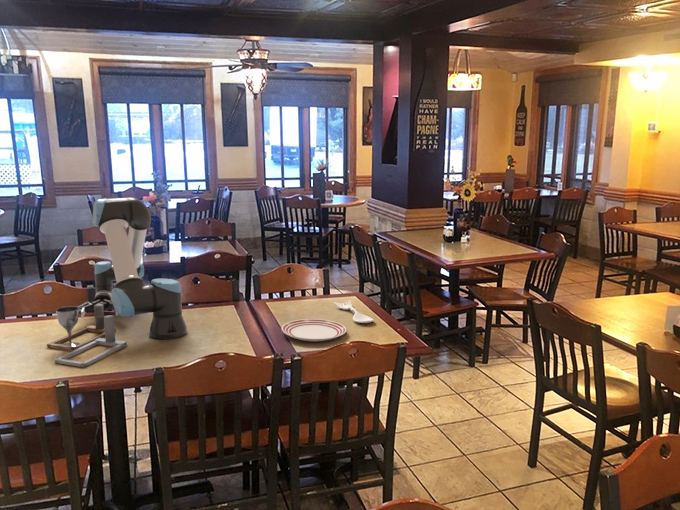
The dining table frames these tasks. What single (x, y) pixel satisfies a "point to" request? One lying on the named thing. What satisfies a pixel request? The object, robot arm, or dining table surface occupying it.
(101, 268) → the robot arm
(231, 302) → the dining table surface
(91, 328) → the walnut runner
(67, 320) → the wine glass
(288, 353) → the dining table surface
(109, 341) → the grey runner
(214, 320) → the dining table surface
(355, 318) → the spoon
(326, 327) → the dinner plate
